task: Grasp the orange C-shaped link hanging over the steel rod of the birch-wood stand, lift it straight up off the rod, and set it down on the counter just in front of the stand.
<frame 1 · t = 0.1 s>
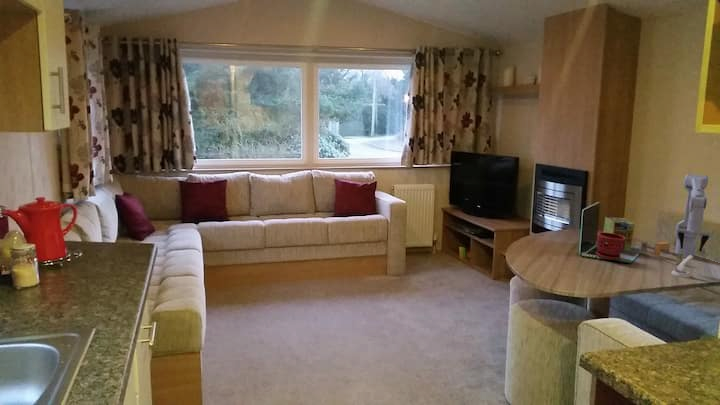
hand: (690, 249, 254), 11 cm above the table, tool pointing down, fingers open, 7 cm apart
protein box: (615, 247, 294), on the table
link: (661, 253, 277), point 2 cm above the table, touching stand
plant pot: (608, 258, 273), on the table
hook: (680, 275, 250), on the table
stand: (660, 257, 277), on the table
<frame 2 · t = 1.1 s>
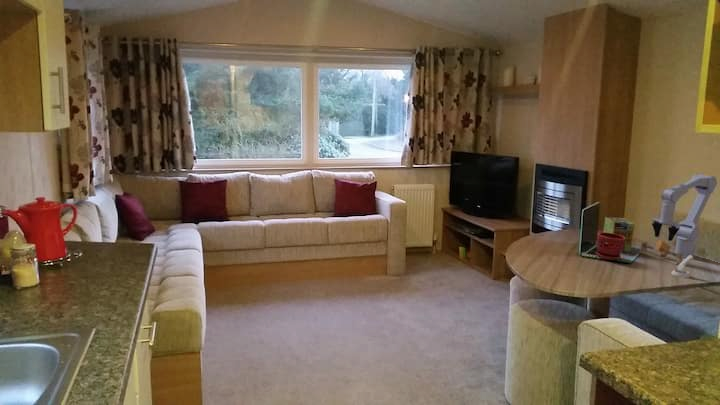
hand: (663, 238, 275), 10 cm above the table, tool pointing down, fingers open, 7 cm apart
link: (659, 253, 276), point 3 cm above the table, tilted 27°, touching stand
everything else where it was.
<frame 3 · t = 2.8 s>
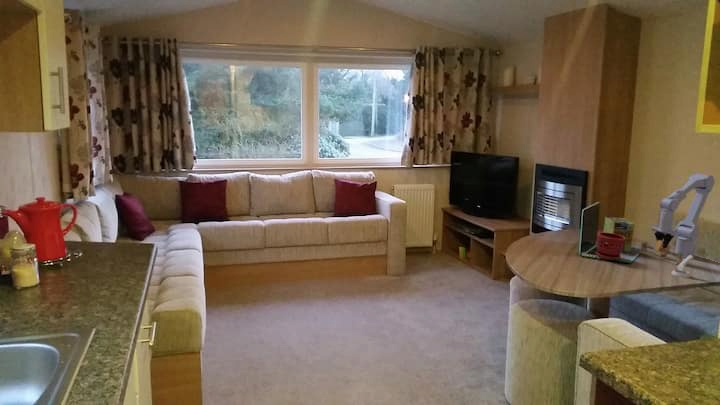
hand: (662, 247, 276), 6 cm above the table, tool pointing down, fingers closed on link, 3 cm apart
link: (659, 253, 276), point 3 cm above the table, tilted 27°, touching gripper, stand
everything else where it was.
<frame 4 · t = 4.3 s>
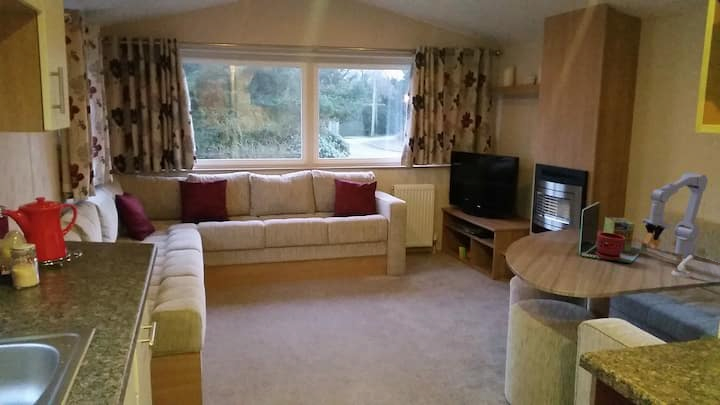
hand: (652, 239, 272), 11 cm above the table, tool pointing down, fingers closed on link, 3 cm apart
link: (649, 246, 272), point 7 cm above the table, tilted 27°, touching gripper
everything else where it was.
when the fingers open (5 cm above the table, at t = 6.2 s): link drops 2 cm, on the table.
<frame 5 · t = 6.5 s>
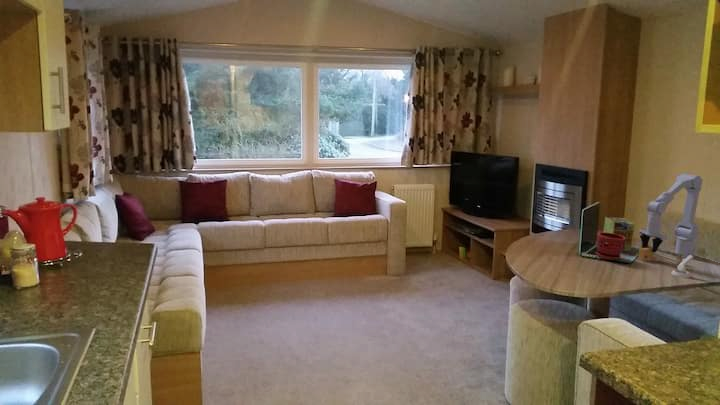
hand: (649, 250, 273), 5 cm above the table, tool pointing down, fingers open, 5 cm apart
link: (645, 259, 273), on the table
everything else where it was.
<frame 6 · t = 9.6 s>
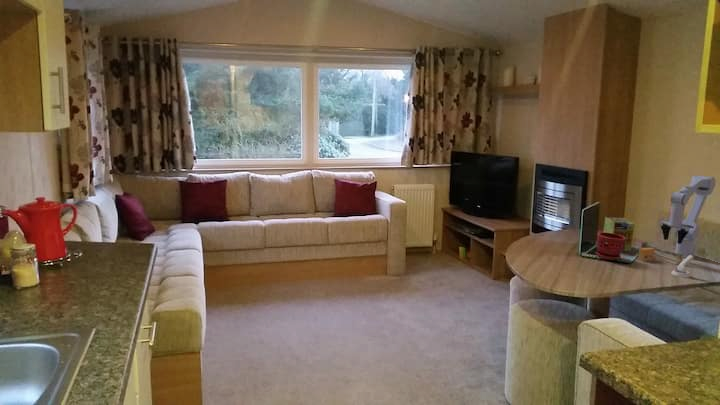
hand: (672, 241, 274), 9 cm above the table, tool pointing down, fingers open, 7 cm apart
nothing on the table moved.
at the end: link 2.1 cm from the target spot on the table beside the stand, on the table; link touching table; the gripper is holding nothing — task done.
